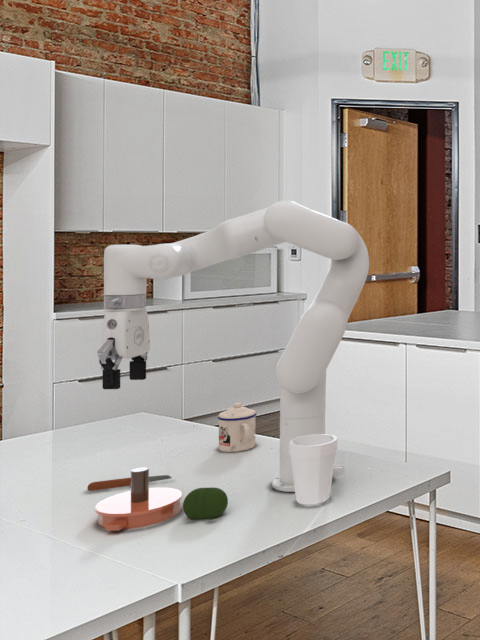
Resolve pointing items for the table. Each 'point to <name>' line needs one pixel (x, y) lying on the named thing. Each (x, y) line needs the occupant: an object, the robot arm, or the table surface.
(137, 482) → the lid
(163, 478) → the kitchen knife
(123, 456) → the table surface
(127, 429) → the table surface
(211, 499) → the avocado
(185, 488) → the table surface
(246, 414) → the teacup with lid
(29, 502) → the table surface
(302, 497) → the foam cup
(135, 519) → the pot
